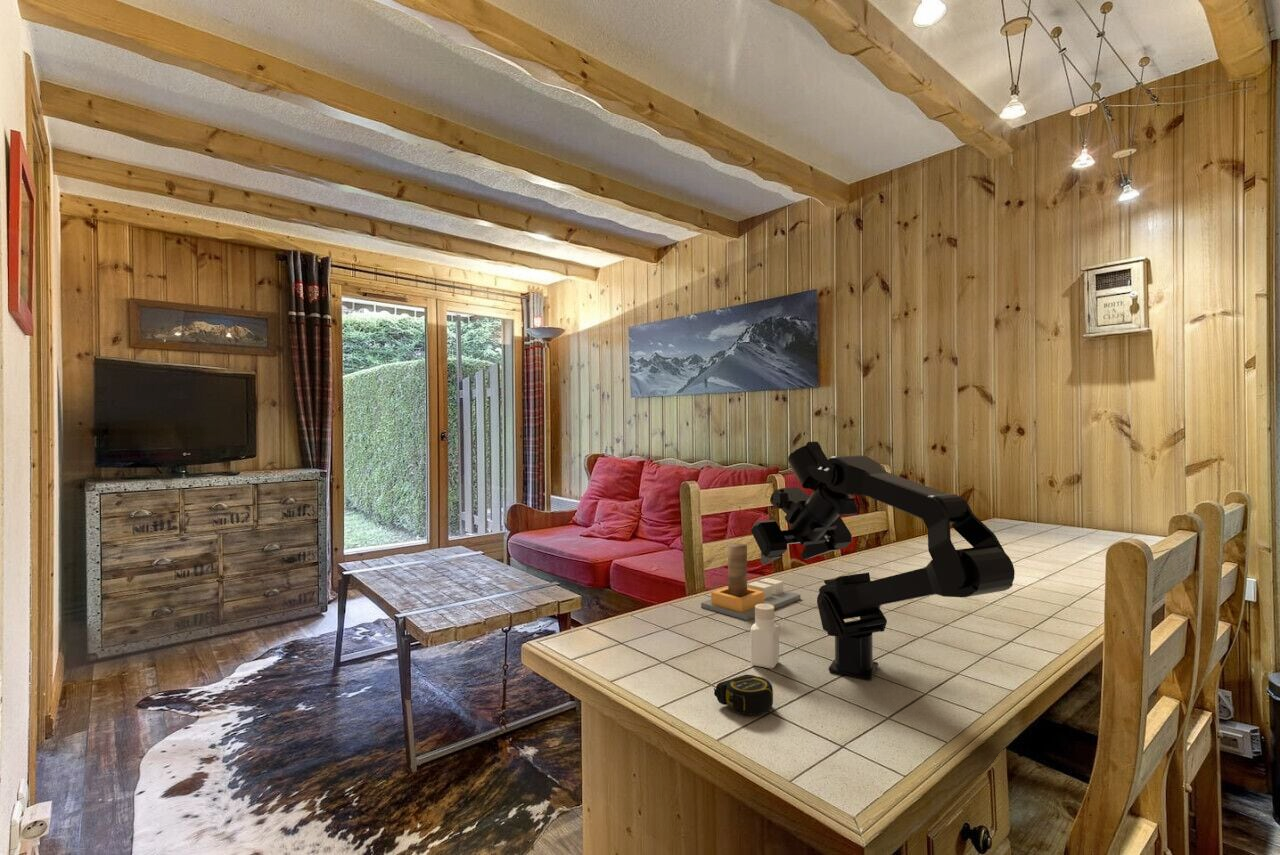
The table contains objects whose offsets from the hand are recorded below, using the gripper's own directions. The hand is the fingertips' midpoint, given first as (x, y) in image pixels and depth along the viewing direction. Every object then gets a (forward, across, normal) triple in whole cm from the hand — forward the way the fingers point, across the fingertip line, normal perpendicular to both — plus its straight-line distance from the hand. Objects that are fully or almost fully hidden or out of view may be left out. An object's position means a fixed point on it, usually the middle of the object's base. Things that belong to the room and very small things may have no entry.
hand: (782, 560), depth 112 cm
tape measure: (-6, +23, +25) cm, 35 cm away
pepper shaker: (+2, +12, +18) cm, 21 cm away
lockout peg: (+20, 0, -2) cm, 20 cm away
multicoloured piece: (+22, -4, -3) cm, 22 cm away
